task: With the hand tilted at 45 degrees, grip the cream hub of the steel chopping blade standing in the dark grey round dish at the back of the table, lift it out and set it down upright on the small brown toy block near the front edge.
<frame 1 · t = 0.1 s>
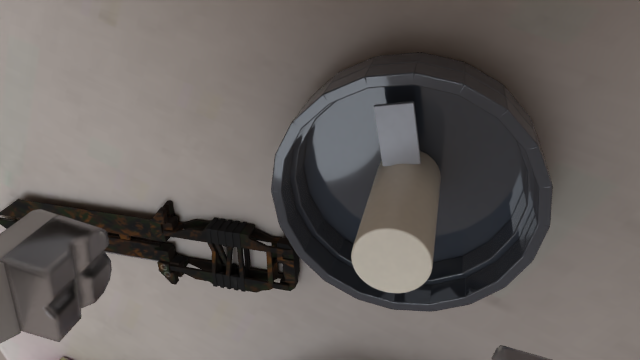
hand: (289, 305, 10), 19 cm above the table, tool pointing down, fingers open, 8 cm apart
dark grey round dish: (409, 171, 29), on the table
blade: (408, 176, 29), point 1 cm above the table, touching dark grey round dish
knife: (139, 234, 38), on the table
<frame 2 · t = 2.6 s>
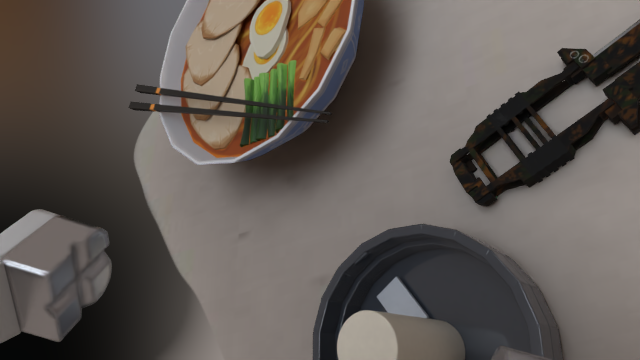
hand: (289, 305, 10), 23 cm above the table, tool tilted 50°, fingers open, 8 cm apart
dark grey round dish: (442, 350, 31), on the table
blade: (437, 350, 31), point 1 cm above the table, touching dark grey round dish
ramen bowl: (302, 71, 47), on the table
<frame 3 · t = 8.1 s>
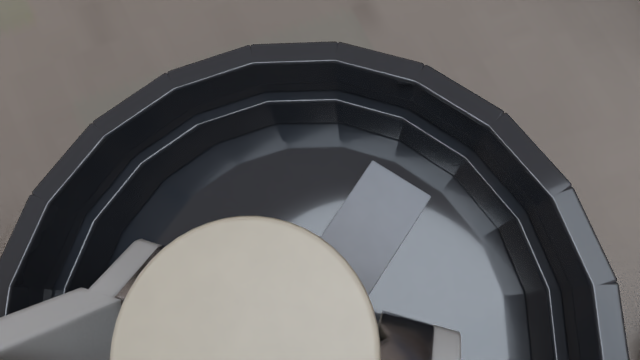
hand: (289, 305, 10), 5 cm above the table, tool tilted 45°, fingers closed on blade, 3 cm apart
dark grey round dish: (306, 328, 15), on the table
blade: (304, 329, 14), point 1 cm above the table, touching gripper, dark grey round dish
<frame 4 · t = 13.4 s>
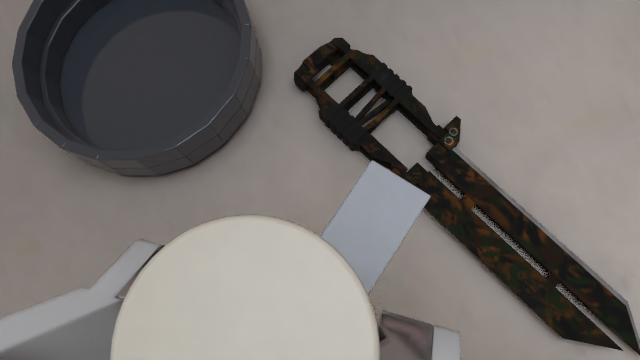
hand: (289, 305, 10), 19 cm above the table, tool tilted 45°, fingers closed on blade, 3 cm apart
dark grey round dish: (156, 74, 33), on the table
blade: (303, 328, 14), point 15 cm above the table, touching gripper
knife: (461, 194, 30), on the table
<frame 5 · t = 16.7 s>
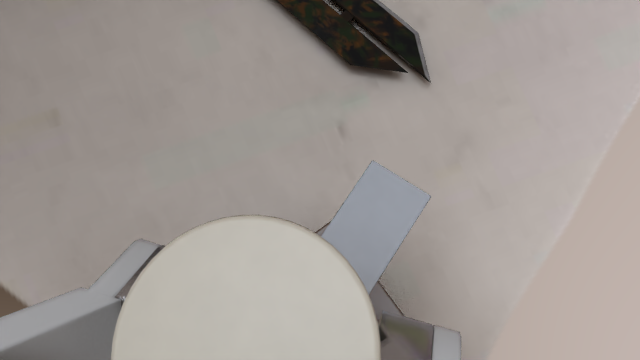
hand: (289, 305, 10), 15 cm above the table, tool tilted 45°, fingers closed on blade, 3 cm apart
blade: (304, 328, 14), point 11 cm above the table, touching gripper
brown toy block: (323, 317, 25), on the table
when the fingers open (8 cm above the table, at t = 19.0 s): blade stays where it is, resting on brown toy block.
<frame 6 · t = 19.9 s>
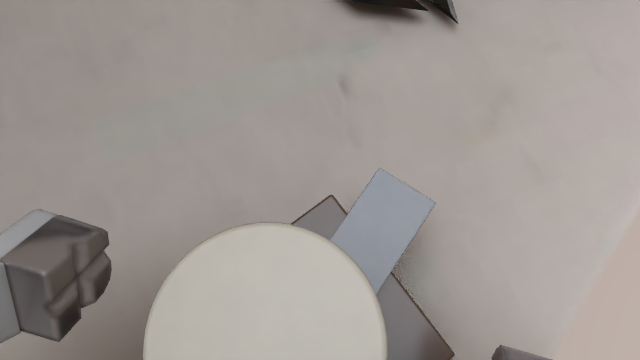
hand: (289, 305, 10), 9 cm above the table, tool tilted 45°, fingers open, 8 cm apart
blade: (313, 328, 15), point 4 cm above the table, touching brown toy block
brown toy block: (321, 327, 19), on the table
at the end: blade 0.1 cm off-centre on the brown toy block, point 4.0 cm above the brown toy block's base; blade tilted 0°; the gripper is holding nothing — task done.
